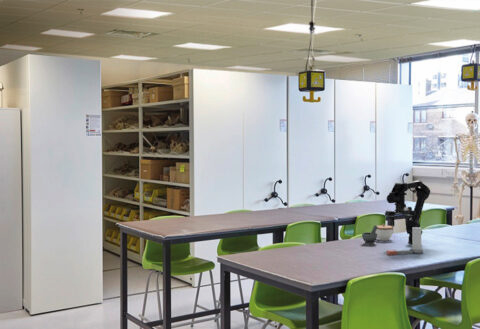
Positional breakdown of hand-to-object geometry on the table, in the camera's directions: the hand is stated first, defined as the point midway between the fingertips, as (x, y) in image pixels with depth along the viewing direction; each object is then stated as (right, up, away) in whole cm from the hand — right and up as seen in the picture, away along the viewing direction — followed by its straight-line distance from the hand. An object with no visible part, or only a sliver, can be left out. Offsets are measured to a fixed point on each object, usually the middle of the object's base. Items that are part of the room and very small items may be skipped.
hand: (400, 226), depth 385 cm
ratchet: (-4, -14, -25) cm, 29 cm away
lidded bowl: (-4, -12, +26) cm, 29 cm away
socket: (+4, -12, -23) cm, 26 cm away
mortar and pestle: (-17, -13, +11) cm, 24 cm away
